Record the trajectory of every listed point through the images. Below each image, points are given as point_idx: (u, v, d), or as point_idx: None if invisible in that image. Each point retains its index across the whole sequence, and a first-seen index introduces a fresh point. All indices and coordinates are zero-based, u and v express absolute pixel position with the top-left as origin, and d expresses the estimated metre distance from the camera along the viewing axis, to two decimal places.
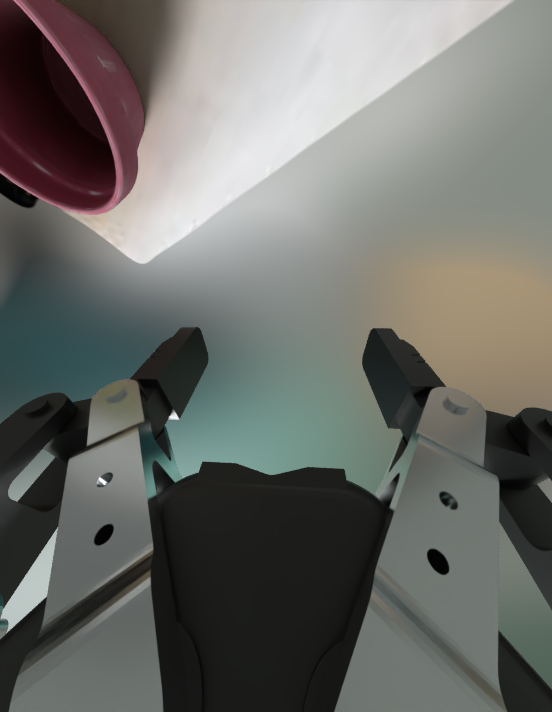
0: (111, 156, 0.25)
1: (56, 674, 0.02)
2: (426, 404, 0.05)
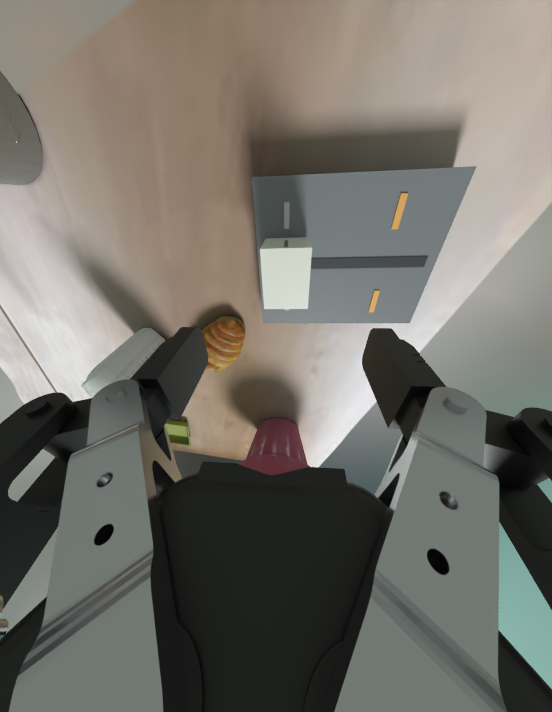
0: None
1: (56, 674, 0.02)
2: (426, 404, 0.05)
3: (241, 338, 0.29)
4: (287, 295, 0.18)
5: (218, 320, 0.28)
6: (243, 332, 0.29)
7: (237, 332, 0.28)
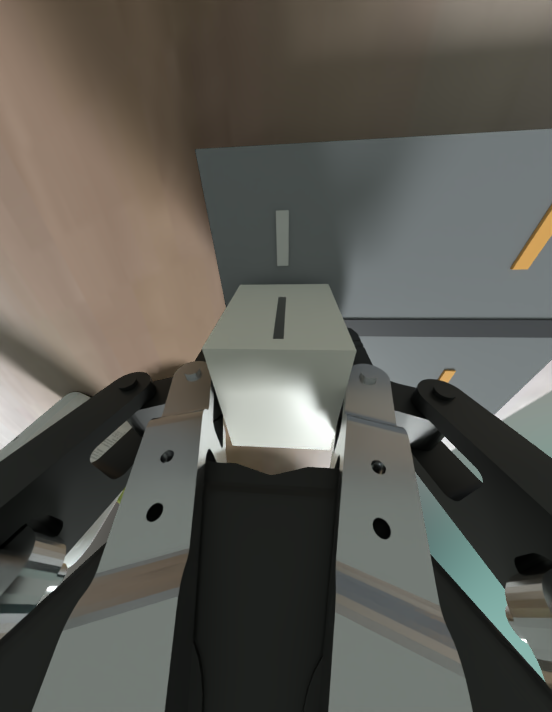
0: None
1: (56, 674, 0.02)
2: None
3: None
4: (283, 430, 0.07)
5: None
6: None
7: None
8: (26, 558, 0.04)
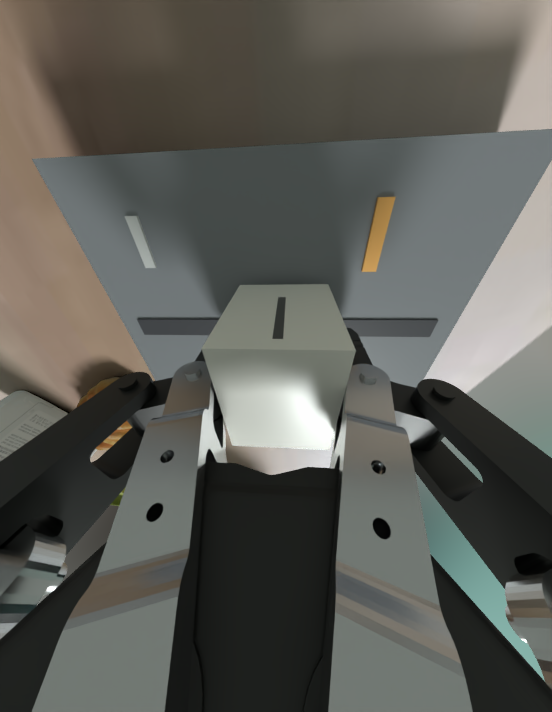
0: None
1: (56, 674, 0.02)
2: None
3: None
4: (283, 430, 0.07)
5: (96, 387, 0.18)
6: None
7: None
8: (26, 558, 0.04)
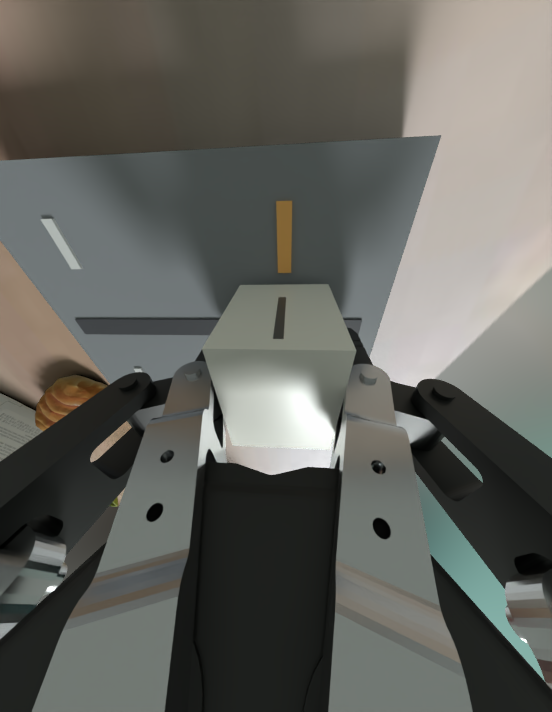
0: None
1: (56, 674, 0.02)
2: None
3: None
4: (283, 430, 0.07)
5: (54, 384, 0.18)
6: None
7: (86, 400, 0.18)
8: (26, 558, 0.04)
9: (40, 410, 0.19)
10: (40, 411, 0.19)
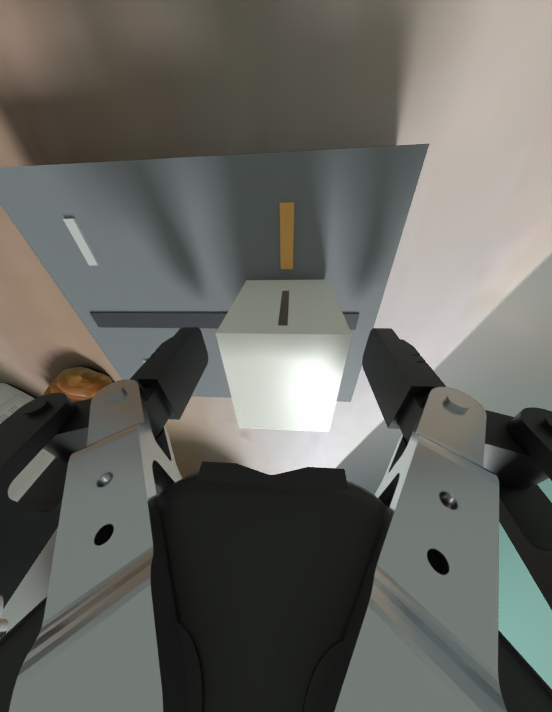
0: None
1: (56, 675, 0.02)
2: (426, 404, 0.05)
3: None
4: (286, 412, 0.08)
5: (58, 375, 0.19)
6: None
7: (89, 391, 0.19)
8: None
9: None
10: None
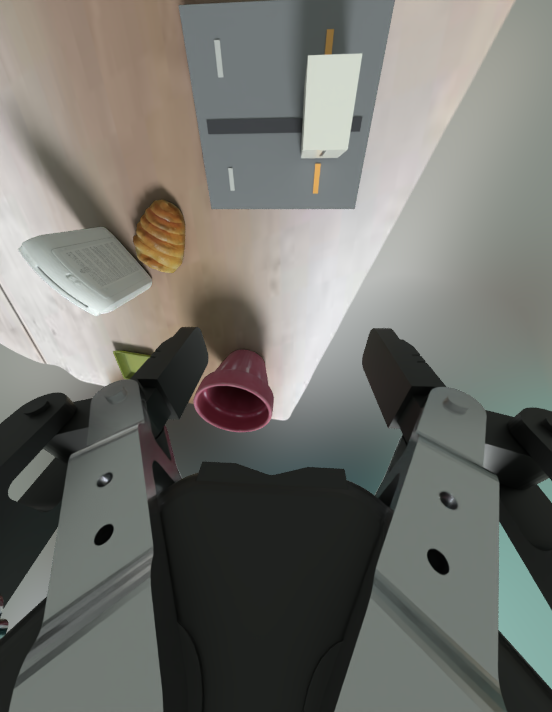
0: None
1: (56, 674, 0.02)
2: (426, 404, 0.05)
3: (178, 226, 0.28)
4: (328, 128, 0.17)
5: (151, 204, 0.27)
6: (180, 219, 0.28)
7: (172, 216, 0.27)
8: None
9: (140, 226, 0.28)
10: (140, 227, 0.28)
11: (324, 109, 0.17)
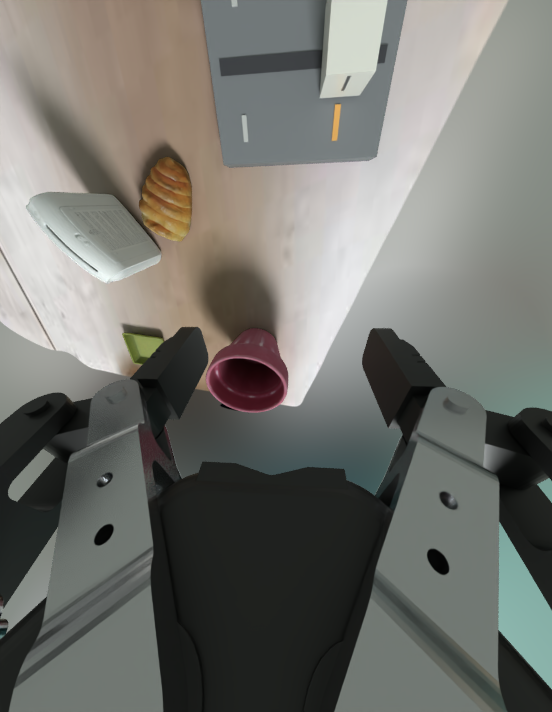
0: (269, 367, 0.44)
1: (56, 674, 0.02)
2: (426, 404, 0.05)
3: (185, 186, 0.27)
4: (355, 45, 0.16)
5: None
6: (186, 178, 0.27)
7: (178, 174, 0.26)
8: None
9: (146, 188, 0.27)
10: (146, 188, 0.27)
11: (351, 21, 0.15)
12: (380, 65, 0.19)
